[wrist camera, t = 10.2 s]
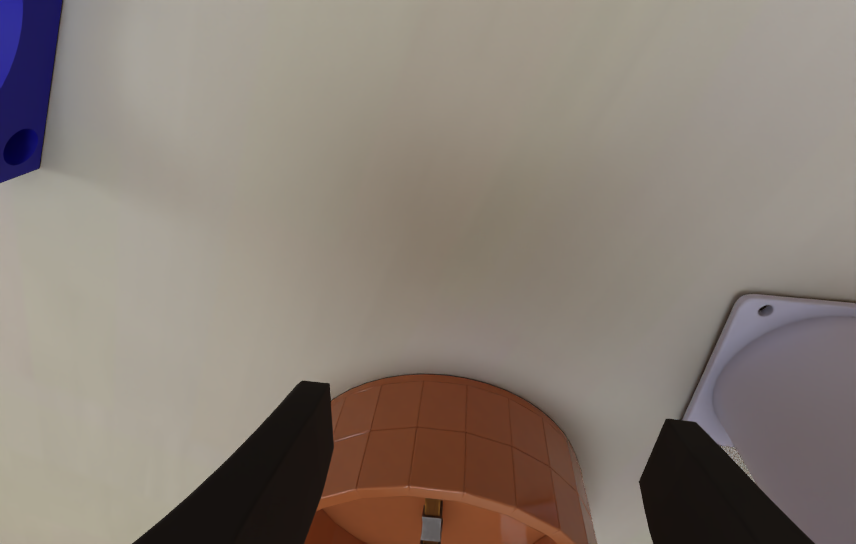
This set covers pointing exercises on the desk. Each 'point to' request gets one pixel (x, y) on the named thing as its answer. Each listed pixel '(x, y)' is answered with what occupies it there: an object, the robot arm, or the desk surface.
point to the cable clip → (25, 80)
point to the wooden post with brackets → (432, 521)
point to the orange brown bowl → (448, 467)
